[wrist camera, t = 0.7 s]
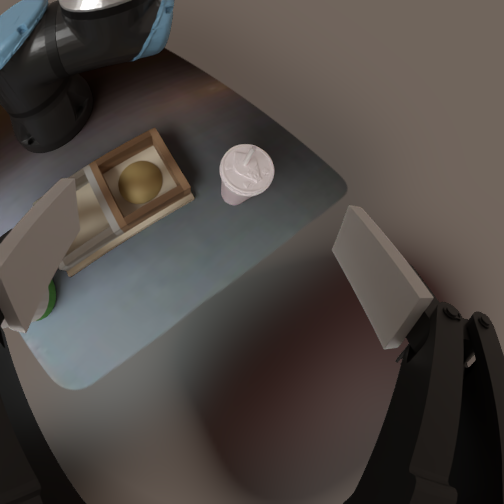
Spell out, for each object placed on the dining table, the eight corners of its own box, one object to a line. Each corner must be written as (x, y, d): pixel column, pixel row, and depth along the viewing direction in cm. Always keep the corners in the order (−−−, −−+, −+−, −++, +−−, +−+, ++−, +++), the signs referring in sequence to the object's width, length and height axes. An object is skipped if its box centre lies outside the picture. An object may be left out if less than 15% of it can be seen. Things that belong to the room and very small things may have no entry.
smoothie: (236, 164, 43) (260, 115, 29) (264, 197, 43) (299, 159, 29) (202, 189, 41) (213, 145, 27) (231, 223, 41) (254, 193, 28)
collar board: (41, 207, 35) (29, 200, 31) (156, 136, 40) (154, 122, 36) (71, 276, 35) (60, 275, 31) (194, 199, 41) (195, 190, 37)
